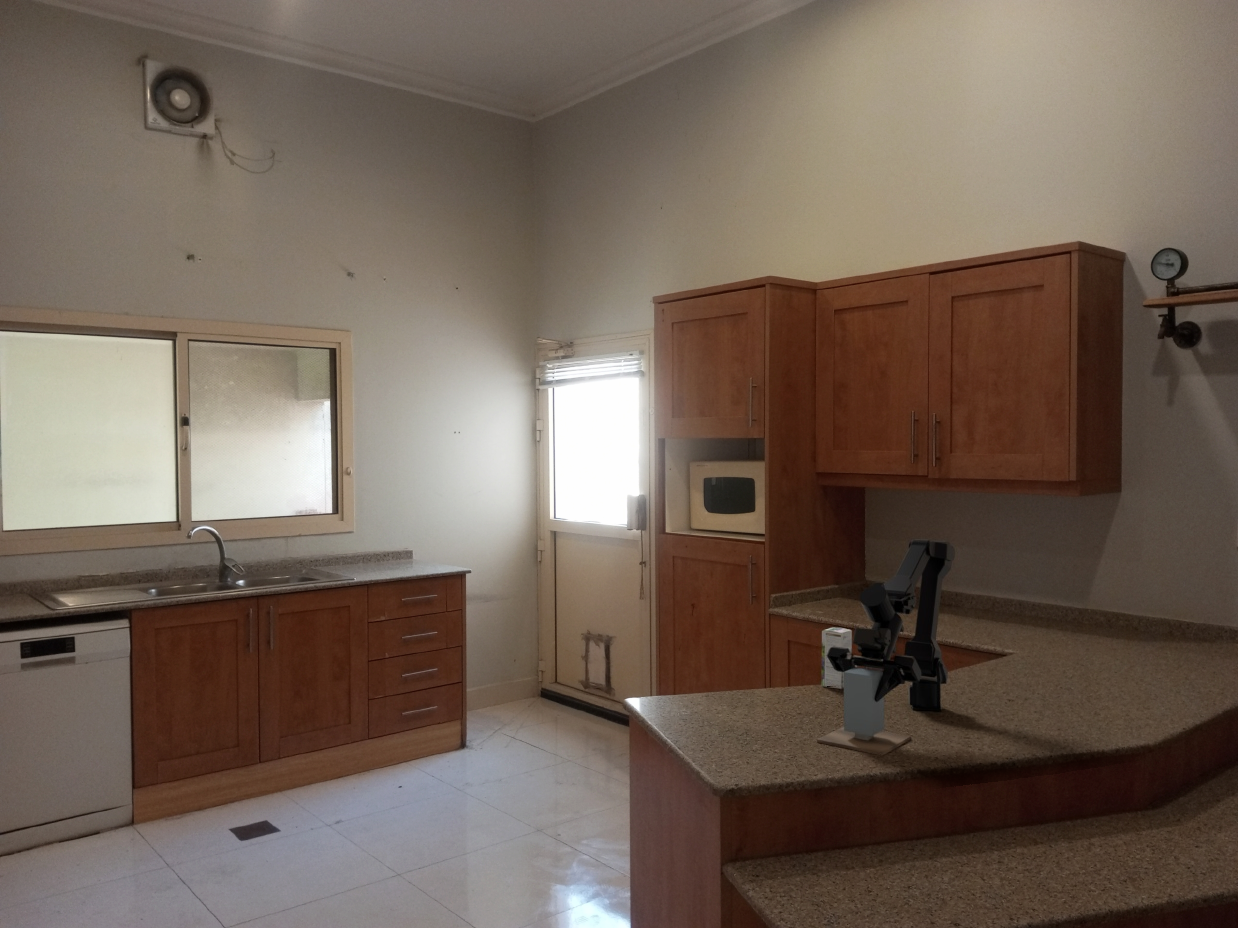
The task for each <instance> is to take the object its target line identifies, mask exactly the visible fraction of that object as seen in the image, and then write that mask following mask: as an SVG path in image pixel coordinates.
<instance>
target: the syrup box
mask: <svg viewBox="0 0 1238 928" xmlns="http://www.w3.org/2000/svg"><path fill="white" fill-rule="evenodd" d="M852 632H853V630H851V629H847V628H843V627H829V628H827V629H823V630H822V631H821V685H820V686H821V687H825V688H828V687H827V686H836V687H830V688H832V689H833V688H834V689H840V690H844V672H839V671H836V670H835V669H834V668H833V666H832V664H831V662H830V661H829V659H828V657H827V653H828V651H829V649H830V648H831V647H833V646H834V647H842V648H848V649H849V651H850V653H851V654H853V653H852V649H853V648H852V644H853V643H852V642H853V637H852V635H853V633H852Z"/></svg>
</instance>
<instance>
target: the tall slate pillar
mask: <svg viewBox="0 0 1238 928" xmlns="http://www.w3.org/2000/svg"><path fill="white" fill-rule="evenodd" d="M882 676H883V670H882V669H875V668H867V667H865V668H864V667H861V666H857V667H855V668H853V669H850V670H848V671H845V672H844V688H843V727H844V731H847V732H852V733H858V734H863V735H868V736H873V735H875V734H877V733H879V732H881V731H885V696H884V697H883V698H882V699H881V700H879V701H878V702H876V701H875V699H874V698H875V694H876V691H877V688H878V686H879V683H880V681H881V678H882Z"/></svg>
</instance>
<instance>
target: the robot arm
mask: <svg viewBox="0 0 1238 928" xmlns="http://www.w3.org/2000/svg"><path fill="white" fill-rule="evenodd" d="M955 556H956V550H955V546H953V545H951V543H950V542H949V541H947V540H931V539H919V538H917V539H915V538H914V539H913V540H910V541H909V543H908V550H907V552H906V554H905V556H904V557H903V559H902V562H901V563H900V565H899V567H898V569H897V571H896V573H895V574H894V576H893V577H892V578H890V579H888V580H886V581H885V582H881V581H880V582H879V581H874V582H873V584H872V585H870V586H868V587H866V588H865V589H863V590H862V591H861V592H860V594H859V597H858V598H859V601H860V604H861V606H862V607H863V610H864V612H865V613H866V616H867V618H868V620H870V621H871V622H873V623H872V625H871V628H862V627H855V628H854V633H853V637H852V644H853V645H854V644H855V645H856V646H857V648H856V649H857V652H858V653H859V654H861V655H855V654H854V653H852V654H851V653H850V651H849V649H848V648H842V647H834V646H833V647H831V648H830V649H829V651H828V653H827V657H828V659H829V661H830V662H831V664H832V666H833V668H834V669H835V670H836V671H839V672H845V671H848V670H850V669H853V668H855V667H863V668H864V667H865V668H867V669H874V670H881V671H883V676H882V678H881V681H880V683H879V686H878V688H877V691H876V694H875V698H874V699H875V701H876V702H878V701H879V700H881V699H882V698H883V697H884V698H885V696H887V694H889V693H890V692H891V691H892V690H894V689H895V688H897V687H898V686H899V685H905V684H906V682H907V683H910V684H909V685H908V705H910V706H911V710H919V711H933V712H934V711H936V712H938V711H939V712H942V711H943V707H942V705H941V704H942V703H941V702H942V701H941V700H942V699H941V693H942V692H941V688H942V687H941V686H942V685H945V684H948V677H949V676H948V675H949V673H948V669H947V667H946V666H945V663H944V661H943V660H944V659H942V655H943V654H942V653H943V652H942V649H941V648H940V646H939V644H938V641H937V634H938V626H939V625H938V624H939V616H940V615H939V614H940V606H941V605H940V604H941V597H942V590H943V589H942V587H943V580H944V579H945V577H946V576H947V574H949V572H950V571H951V570H952V566H953V561H954V560H955ZM920 578H921V579H920ZM919 581H920V585H919V586H920V588H919V596H918V597H919V598H918V602H917V596H916V593H915V589H916V587H917V585H918V583H919ZM917 603H918V604H917ZM916 605H917V613H916V620H915V621H916V622H915V631H914V635H913V636H912V638H911V639H910V640H907V641H906V642H905V644H904V645H905V646H904V653H903V654H896V652H897V647H896V643H897V640H898V638H899V635H900V633H904V631H905V628H904V621H903V619H902V617H901V615H910V614H911V613H912V612H913V610H914V609H915V607H916ZM893 654H895V655H894V657H893V660H891V658H892V656H893Z"/></svg>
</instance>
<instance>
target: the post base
mask: <svg viewBox="0 0 1238 928" xmlns="http://www.w3.org/2000/svg"><path fill="white" fill-rule="evenodd" d="M911 740H912V736H911V735H906V734H900V733H896V732H891V731H886V730H883V731H881V732H879V733H877V734H875V735H873V736H868V735H863V734H858V733H852V732H847V731H844V726H842V727H840V728H838V729H836V730H834V731H831V732H829V733H828V734H825V735H823V736H821V737H819V738H817V739H816V743H820V744H824V745H829V746H832V747H833V746H834V747H839V748H844V749H848V750H854V751H859V752H864V753H869V754H873V755H879V756H884V755H886V754H888V753H889V752H891V751H894V749H896V748H898V747H899V746H902V745H903V744H905V743H907V742H909V741H911Z"/></svg>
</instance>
